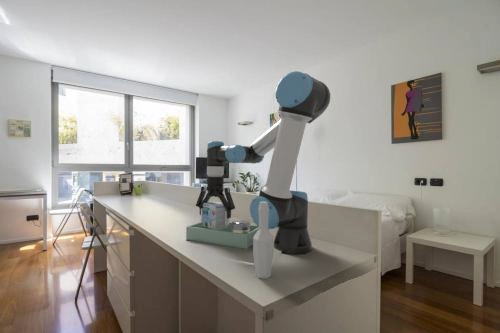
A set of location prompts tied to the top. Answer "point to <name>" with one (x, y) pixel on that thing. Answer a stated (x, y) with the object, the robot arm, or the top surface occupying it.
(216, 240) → the box
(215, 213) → the light bulb box
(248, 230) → the tin can
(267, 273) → the low poly bottle
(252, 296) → the top surface
